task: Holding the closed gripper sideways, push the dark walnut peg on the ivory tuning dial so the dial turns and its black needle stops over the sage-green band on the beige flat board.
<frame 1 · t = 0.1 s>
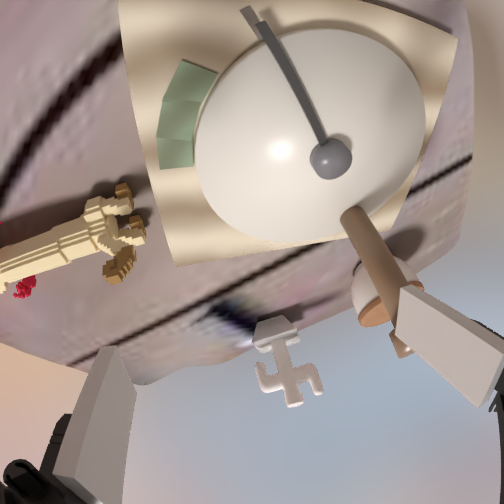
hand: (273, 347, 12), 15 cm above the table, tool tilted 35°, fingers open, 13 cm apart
cat figure: (29, 232, 21), on the table
lidded jar: (371, 264, 41), on the table
beige flat board: (312, 136, 21), on the table
tuning dial: (368, 206, 15), point 9 cm above the table, hinge at 0.0°
figurine: (271, 322, 48), on the table
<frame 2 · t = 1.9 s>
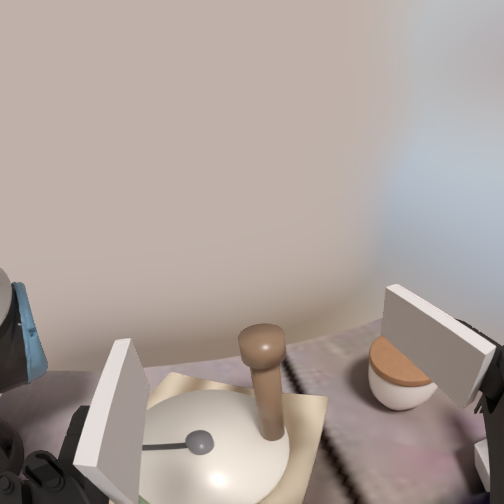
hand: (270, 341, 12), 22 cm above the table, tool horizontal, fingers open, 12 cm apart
lidded jar: (399, 395, 31), on the table
beige flat board: (206, 457, 26), on the table
tuning dial: (180, 411, 23), point 9 cm above the table, hinge at 0.0°
figurine: (493, 471, 13), on the table
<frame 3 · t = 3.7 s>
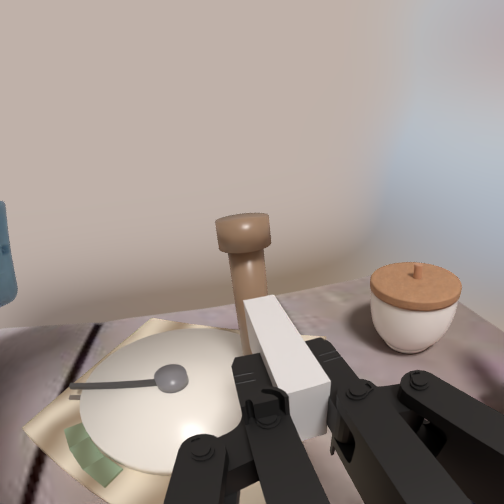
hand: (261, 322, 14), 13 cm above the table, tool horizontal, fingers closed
lidded jar: (407, 339, 29), on the table
beige flat board: (181, 403, 24), on the table
tuning dial: (147, 326, 21), point 9 cm above the table, hinge at 0.0°
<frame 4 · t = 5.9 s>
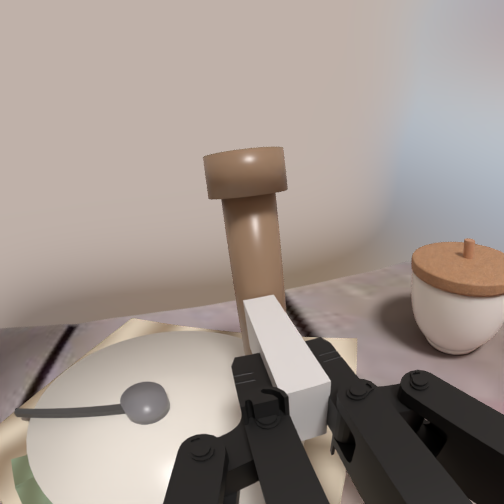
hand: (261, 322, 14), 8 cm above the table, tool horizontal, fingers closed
lidded jar: (452, 337, 21), on the table
beige flat board: (162, 435, 16), on the table
tuning dial: (103, 327, 13), point 9 cm above the table, hinge at 5.7°, touching gripper
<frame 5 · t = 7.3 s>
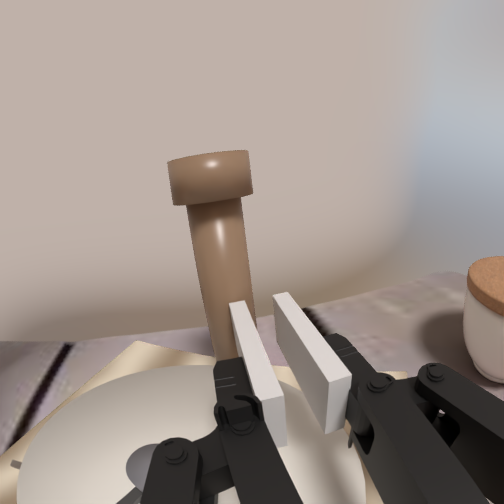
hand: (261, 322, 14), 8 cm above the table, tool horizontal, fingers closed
lidded jar: (499, 362, 15), on the table
beige flat board: (179, 497, 11), on the table
tuning dial: (97, 400, 8), point 9 cm above the table, hinge at 50.9°, touching gripper
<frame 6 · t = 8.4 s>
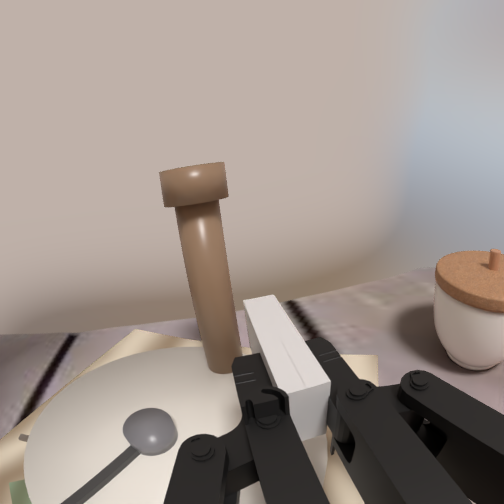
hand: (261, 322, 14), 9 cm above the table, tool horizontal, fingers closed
lidded jar: (473, 351, 18), on the table
beige flat board: (169, 461, 14), on the table
tuning dial: (102, 359, 11), point 9 cm above the table, hinge at 52.0°
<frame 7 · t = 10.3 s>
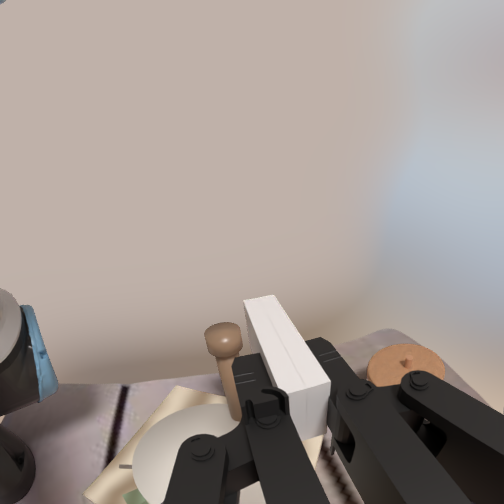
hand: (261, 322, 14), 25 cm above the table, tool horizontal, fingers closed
lidded jar: (396, 407, 32), on the table
beige flat board: (213, 468, 27), on the table
tuning dial: (190, 430, 24), point 9 cm above the table, hinge at 52.0°
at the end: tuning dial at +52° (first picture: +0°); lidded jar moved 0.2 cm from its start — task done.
